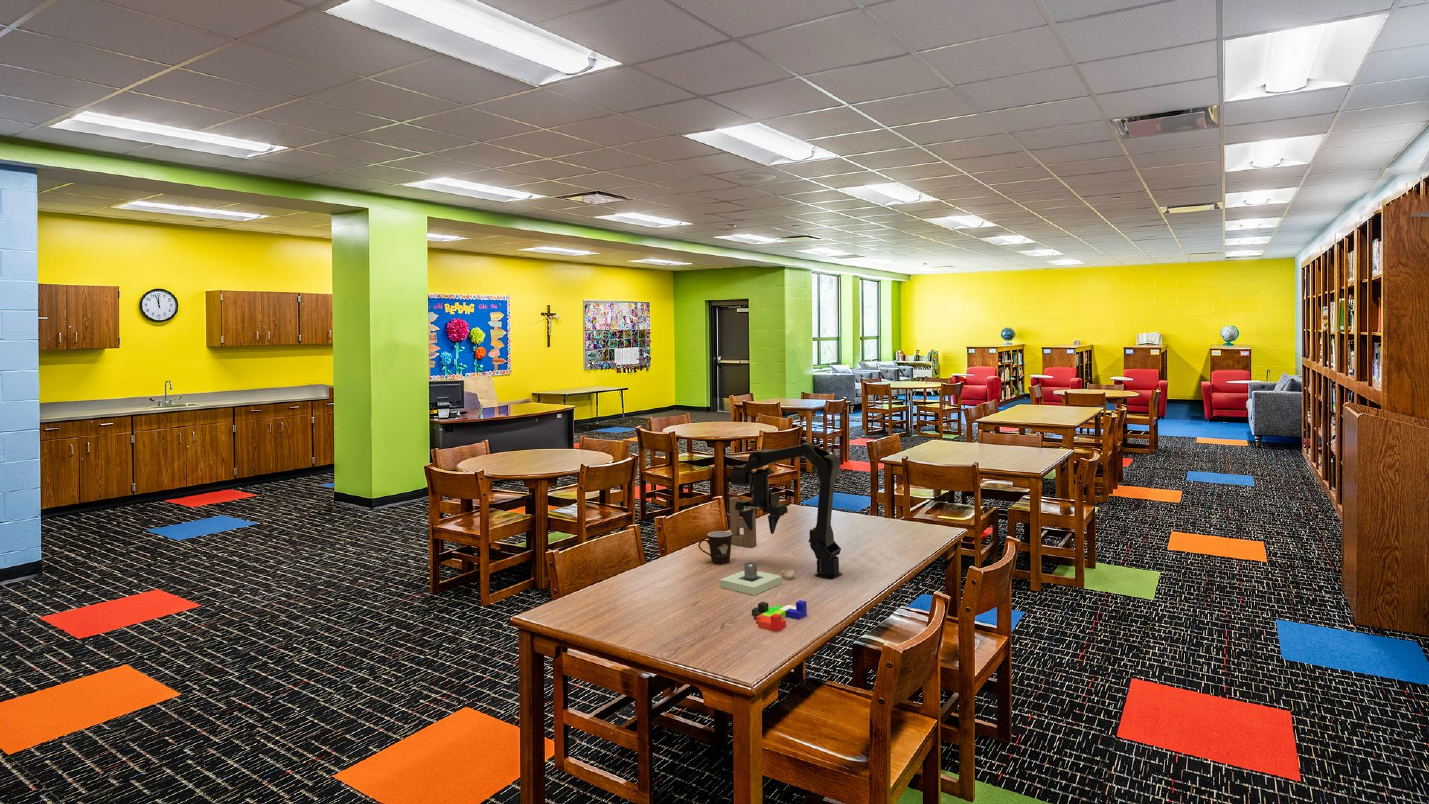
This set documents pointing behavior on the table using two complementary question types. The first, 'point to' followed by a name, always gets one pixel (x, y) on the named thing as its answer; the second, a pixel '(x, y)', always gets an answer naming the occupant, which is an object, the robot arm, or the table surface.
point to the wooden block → (736, 524)
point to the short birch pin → (788, 574)
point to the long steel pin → (750, 571)
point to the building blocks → (777, 614)
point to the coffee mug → (719, 546)
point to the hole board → (755, 587)
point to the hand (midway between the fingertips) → (761, 532)
